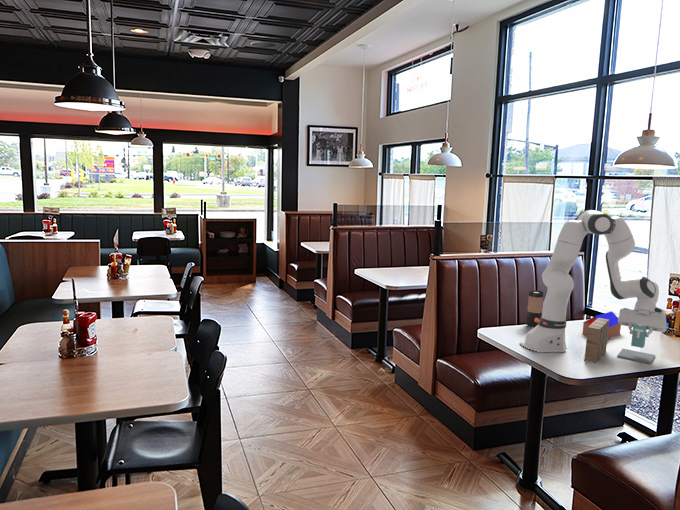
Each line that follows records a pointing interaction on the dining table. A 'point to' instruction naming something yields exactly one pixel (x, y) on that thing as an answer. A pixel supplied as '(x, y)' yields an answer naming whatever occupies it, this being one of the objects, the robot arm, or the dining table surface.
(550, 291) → the robot arm
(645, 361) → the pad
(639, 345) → the lettered block
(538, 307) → the travel mug
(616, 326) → the house
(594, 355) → the walnut screen
